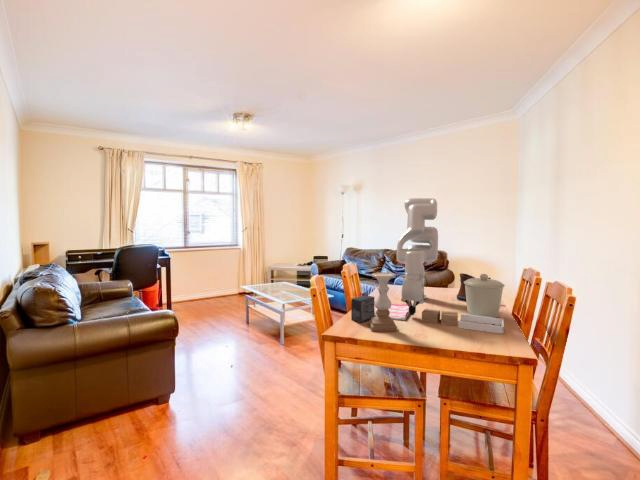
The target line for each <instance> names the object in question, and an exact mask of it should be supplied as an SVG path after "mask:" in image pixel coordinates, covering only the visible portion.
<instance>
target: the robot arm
mask: <svg viewBox="0 0 640 480" xmlns="http://www.w3.org/2000/svg"><path fill="white" fill-rule="evenodd" d="M404 209H405V212H406V214H407V222H406V223H407V225H406V226H407V227H406V231H405V232H404V233H403V234H402V235H401V236H400V237H399V239H398V241H397V244H396V261H397V262H398V263H399V264H401V265H402V264H403V265H404V264H405V265H404V278H403V281H402V284H401V285H402V286H401V295H400V297H401V299H400V301H401V302H403V303H405V304H407V305H408V306H409V316H414V315H415V314H416V311H417V309H416V307H417V306H418V305H420V304H424V303H425V301H424V300H426V299H427V298H428V297H427V295H426V294H425V267H424V265H423V264H424V263H425V262H436V261H437V260H438V257H439V256H438V253H439V232H438V228H437V227H435V226H426V224H425V223H426V220H427V221H430V220H431V221H432V220H433V221H434V220H435V219H436V218H437V216H438V202H437V199H435V198H431V197H430V198H429V197H427V198H425V197H423V198H422V197H421V198H420V197H419V198H417V197H415V198H408V199H406V200H405V201H404ZM409 240H410V242H411V243H417V244H409V246H408V247H407V248H404V247H403V246H404V244H406V242H408V241H409ZM412 301H413V302H412Z"/></svg>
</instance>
